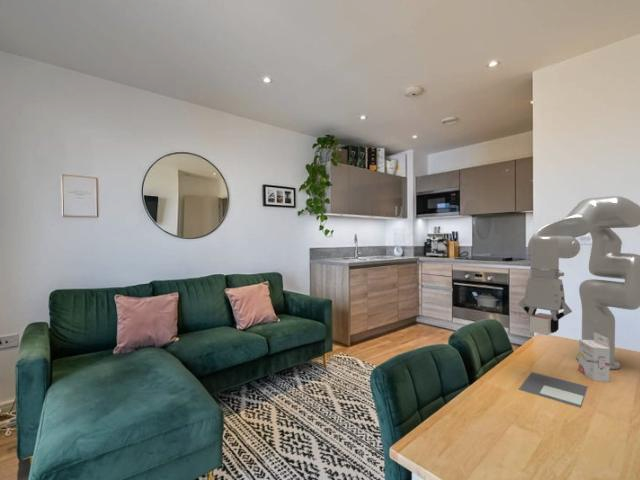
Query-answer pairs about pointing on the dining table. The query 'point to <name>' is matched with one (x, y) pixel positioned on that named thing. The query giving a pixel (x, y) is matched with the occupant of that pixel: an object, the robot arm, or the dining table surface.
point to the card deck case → (541, 323)
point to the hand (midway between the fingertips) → (543, 329)
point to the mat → (555, 389)
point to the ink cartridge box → (595, 358)
